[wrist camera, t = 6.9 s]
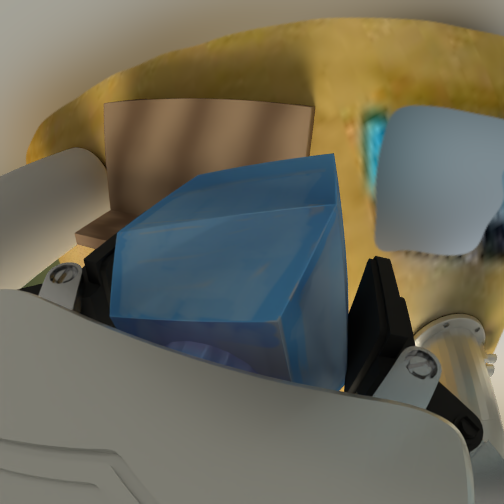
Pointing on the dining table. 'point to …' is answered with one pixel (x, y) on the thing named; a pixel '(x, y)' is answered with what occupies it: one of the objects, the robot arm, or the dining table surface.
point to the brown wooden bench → (187, 148)
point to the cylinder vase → (47, 211)
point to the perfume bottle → (243, 271)
